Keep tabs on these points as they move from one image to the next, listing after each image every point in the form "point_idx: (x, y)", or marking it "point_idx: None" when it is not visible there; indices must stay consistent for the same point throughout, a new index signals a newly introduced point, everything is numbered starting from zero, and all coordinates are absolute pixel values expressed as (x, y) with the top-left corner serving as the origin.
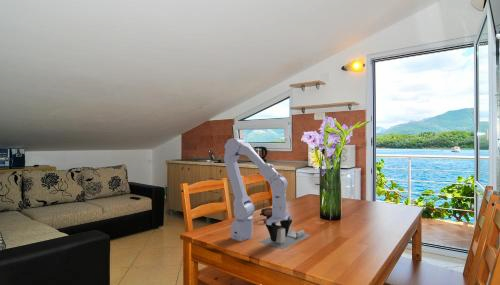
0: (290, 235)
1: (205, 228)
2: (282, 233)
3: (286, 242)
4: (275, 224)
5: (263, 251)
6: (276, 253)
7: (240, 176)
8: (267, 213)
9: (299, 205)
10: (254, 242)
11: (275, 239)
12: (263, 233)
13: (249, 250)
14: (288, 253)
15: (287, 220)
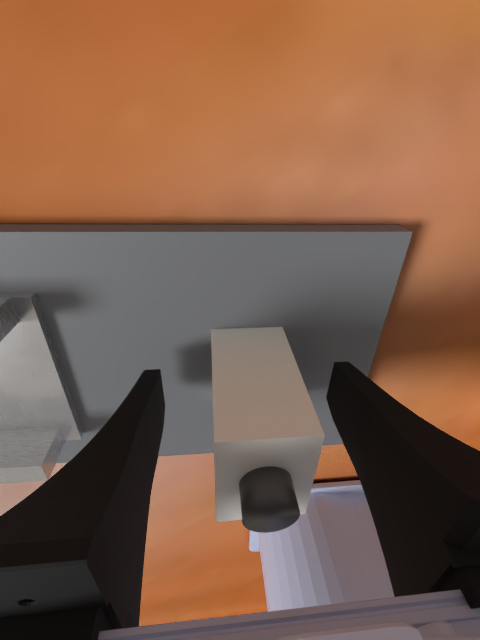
0: (39, 382)
1: None
2: (273, 395)
3: (218, 309)
4: (463, 557)
5: (452, 338)
6: (457, 242)
7: None
8: None
9: None
10: (324, 458)
11: (361, 372)
12: None
13: (468, 402)
14: (413, 147)
15: (96, 592)
